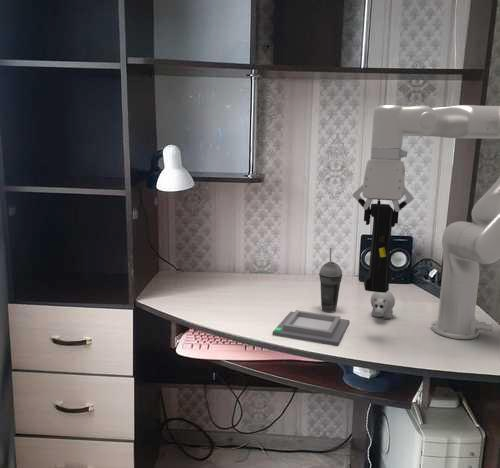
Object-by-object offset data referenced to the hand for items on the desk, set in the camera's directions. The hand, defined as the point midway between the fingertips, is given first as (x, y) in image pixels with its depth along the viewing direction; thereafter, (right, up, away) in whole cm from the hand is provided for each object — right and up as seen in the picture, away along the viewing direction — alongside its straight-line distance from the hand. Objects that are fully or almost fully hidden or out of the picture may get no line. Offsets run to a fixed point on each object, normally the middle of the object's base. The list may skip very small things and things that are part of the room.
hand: (380, 224), depth 129 cm
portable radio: (0, -17, +3) cm, 18 cm away
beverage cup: (-9, -27, +28) cm, 40 cm away
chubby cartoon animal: (+6, -28, +22) cm, 36 cm away
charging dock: (-16, -29, +12) cm, 36 cm away
